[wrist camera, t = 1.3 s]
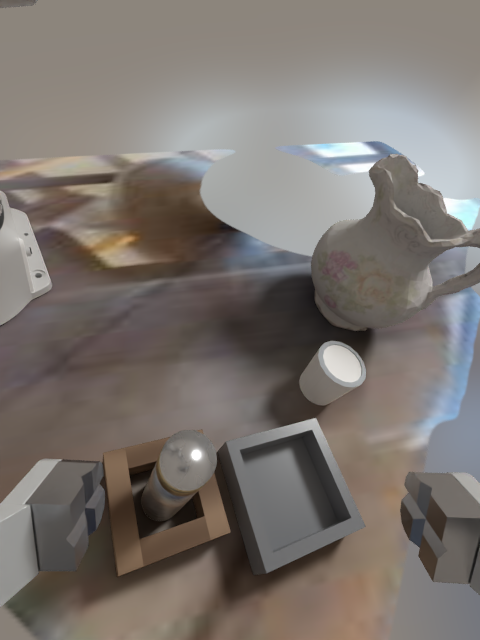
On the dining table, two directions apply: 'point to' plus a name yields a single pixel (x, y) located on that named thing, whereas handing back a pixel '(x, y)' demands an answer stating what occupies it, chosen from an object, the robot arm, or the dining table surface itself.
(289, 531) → the tray
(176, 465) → the steel pin
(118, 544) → the socket block
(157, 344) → the dining table surface
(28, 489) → the robot arm
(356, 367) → the shot glass
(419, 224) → the ceramic pitcher
